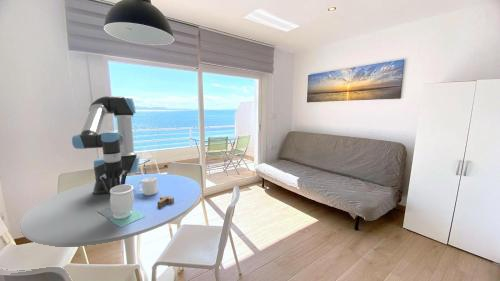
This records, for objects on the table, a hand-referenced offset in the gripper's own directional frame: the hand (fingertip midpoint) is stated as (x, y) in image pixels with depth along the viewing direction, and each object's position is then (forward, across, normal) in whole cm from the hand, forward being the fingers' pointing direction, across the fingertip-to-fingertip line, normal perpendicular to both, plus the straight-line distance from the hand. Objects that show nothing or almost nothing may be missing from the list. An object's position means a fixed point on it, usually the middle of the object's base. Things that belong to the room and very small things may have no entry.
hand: (117, 203), depth 109 cm
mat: (+6, 0, -3) cm, 6 cm away
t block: (+6, +20, -11) cm, 24 cm away
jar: (+5, 0, -6) cm, 8 cm away
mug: (+6, +24, +13) cm, 28 cm away
